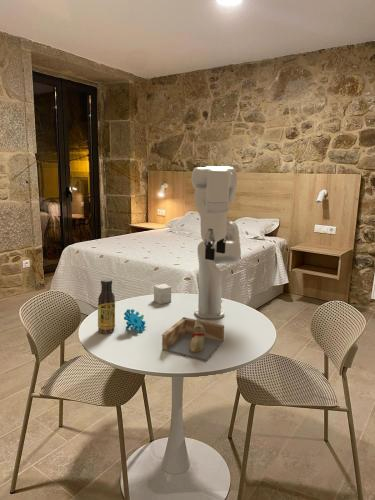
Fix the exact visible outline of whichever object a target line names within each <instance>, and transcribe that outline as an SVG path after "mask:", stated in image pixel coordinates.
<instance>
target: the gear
mask: <svg viewBox="0 0 375 500" xmlns="http://www.w3.org/2000/svg"><path fill="white" fill-rule="evenodd" d="M123 315H124V317H123V319H124V320H125V321H126V322H125V324H126V326H125V328H126V330H128V329H129V328H130V329H131V330H132V331H135V333H139V332H140V333H142V332H144V330H145V329H146V328H147V326H146V321H145V320H143V319H144V317H145V315H144V314H141V315H140V312H139V311H136V312H135V309H132V308H131V309H130V308H129V309H128V308H127V309H126V311H125V312H124V313H123ZM135 328H136V329H135Z"/></svg>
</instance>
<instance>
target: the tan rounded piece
mask: <svg viewBox="0 0 375 500" xmlns="http://www.w3.org/2000/svg"><path fill="white" fill-rule="evenodd" d="M195 320H196V321H195V326H194V332H195V334H192V339H191V342H190V347H189V349H190V351H191V352H192V353H196V352H200V351H201V350H203V348H204V334H205V329H204V327H203V325H201V324H200V322H199V321H197V320H198V319H195Z"/></svg>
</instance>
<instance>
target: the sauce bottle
mask: <svg viewBox="0 0 375 500" xmlns="http://www.w3.org/2000/svg"><path fill="white" fill-rule="evenodd" d="M100 286H101V290H100V291H101V292H100V293H99V295H98V299H97V327H98V330H97V331H98V332H99V333H101V334H110V333H113V332H114V331H115V328H116V301H115V300H116V299H115V294H114V293H113V287H112V286H113V279H112V278H102V279H101V280H100Z"/></svg>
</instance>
